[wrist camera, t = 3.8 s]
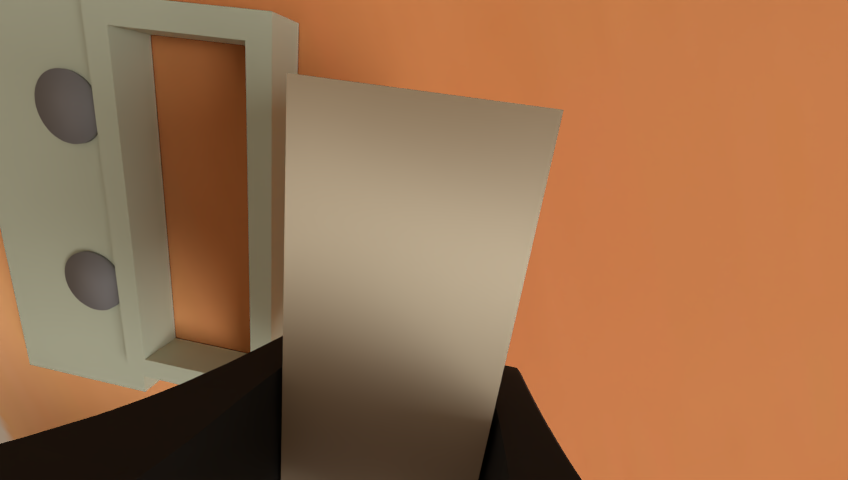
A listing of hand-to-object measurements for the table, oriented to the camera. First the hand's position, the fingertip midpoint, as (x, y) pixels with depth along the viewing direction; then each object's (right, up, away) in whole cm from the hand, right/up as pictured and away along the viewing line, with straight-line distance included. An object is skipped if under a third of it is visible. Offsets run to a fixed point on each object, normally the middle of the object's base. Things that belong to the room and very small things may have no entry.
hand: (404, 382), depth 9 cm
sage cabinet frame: (-13, +5, +10) cm, 17 cm away
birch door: (+1, +1, +3) cm, 4 cm away
